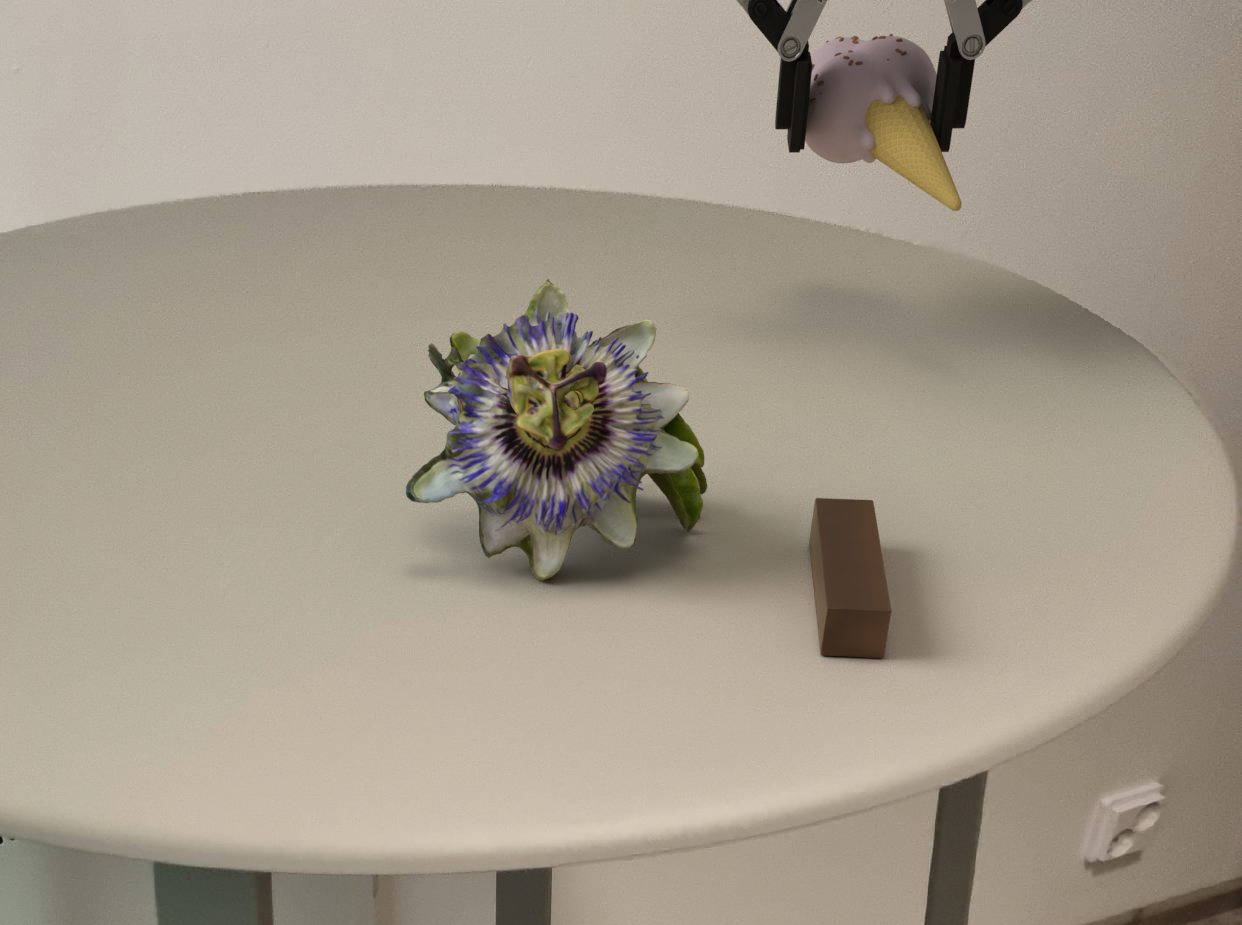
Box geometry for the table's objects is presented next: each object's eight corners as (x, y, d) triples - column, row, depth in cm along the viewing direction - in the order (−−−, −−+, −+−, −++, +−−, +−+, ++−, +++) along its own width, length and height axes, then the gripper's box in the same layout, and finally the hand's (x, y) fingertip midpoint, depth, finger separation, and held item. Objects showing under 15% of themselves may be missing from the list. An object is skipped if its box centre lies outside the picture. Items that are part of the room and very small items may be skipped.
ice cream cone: (1015, 118, 86) (888, -28, 94) (869, 200, 87) (756, 49, 96) (1034, 226, 90) (911, 77, 99) (894, 301, 92) (785, 149, 100)
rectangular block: (866, 545, 80) (873, 499, 79) (883, 659, 73) (891, 610, 71) (809, 542, 80) (815, 497, 79) (820, 656, 73) (827, 608, 72)
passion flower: (543, 690, 82) (388, 504, 74) (499, 539, 89) (352, 352, 80) (776, 547, 78) (640, 333, 69) (711, 400, 85) (580, 187, 76)
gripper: (716, -296, 80) (688, 167, 92) (1143, -308, 78) (1058, 166, 90) (715, -312, 85) (689, 126, 97) (1113, -324, 84) (1037, 124, 95)
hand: (867, 141), depth 93 cm, fingers closed on ice cream cone, 6 cm apart
